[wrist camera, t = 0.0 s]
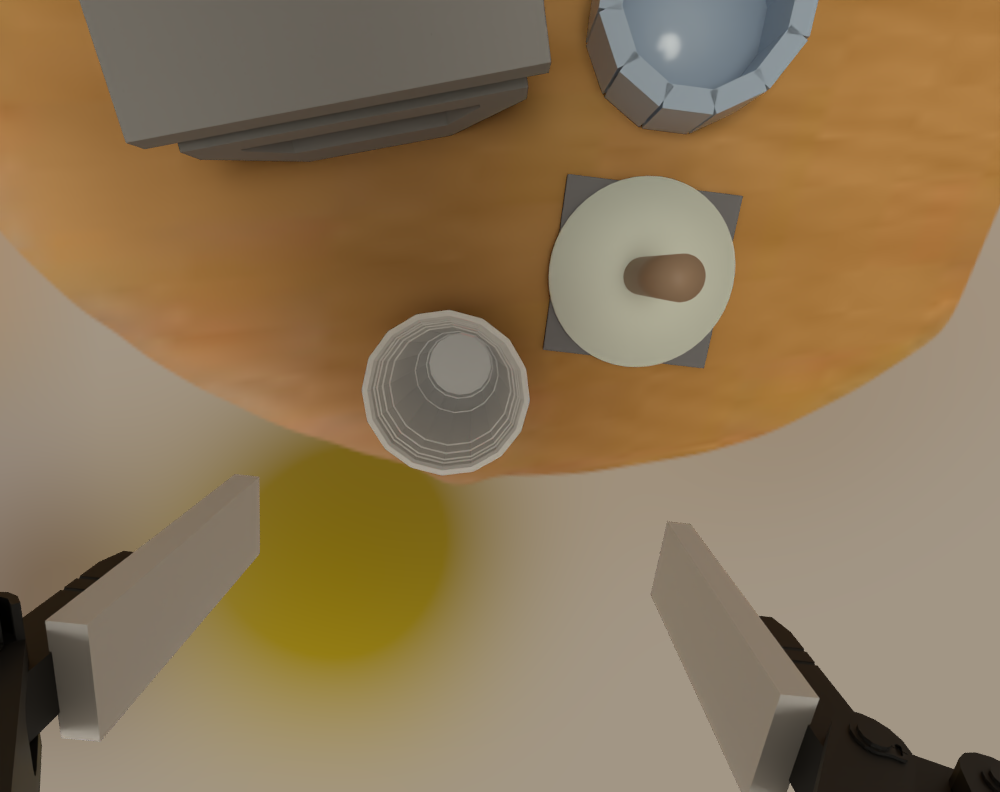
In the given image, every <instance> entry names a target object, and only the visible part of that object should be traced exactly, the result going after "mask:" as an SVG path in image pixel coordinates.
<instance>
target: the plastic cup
mask: <svg viewBox="0 0 1000 792" xmlns="http://www.w3.org/2000/svg"><path fill="white" fill-rule="evenodd" d="M362 394H363V400H364V405H365V411H366V416H367V422H368V423H369V425H370V426H371V428H372V429H373V431H374V433H375V434H376V436H377V437H378V439H379V440H380V442H381V443H382V445H383V447H384V448H385V449H386V450H387V451H389V452H390V453H392V454H393V455H394V456H396V457H397V458H398V459H400V460H401V461H403V462H404V463H405V464H407V465H408V466H410V467H411V468H415V469H419V470H423V471H427V472H431V473H434V474H438V475H450V474H458V473H465V472H473V471H475V470H477V469H479V468H481V467H483V466H484V465H486V464H488V463H490V462H492V461H493V460H495V459H497V458H499V457H501V456H502V455H503V453H504V452H505V451H506V450H507V448H508V447H509V446H510V445H511V443H512V442H513V441H514V440H515V438H516V437H517V436H518V435H519V433H520V432H521V430H522V426H523V423H524V419H525V416H526V412H527V409H528V405H529V402H530V398H529V390H528V381H527V373H526V368H525V366H524V364H523V362H522V361H521V359H520V357H519V355H518V354H517V352H516V350H515V348H514V347H513V345H512V343H511V341H510V340H509V339H508V338H507V337H506V336H504V335H503V334H502V333H500V332H499V331H498V330H497V329H495V328H494V327H493V326H491V325H490V324H489V323H488V322H486V321H485V320H484V319H482V318H478V317H474V316H471V315H467V314H463V313H460V312H456V311H452V310H445V311H438V312H430V313H423V314H416V315H415V316H413V317H411V318H410V319H408V320H406V321H405V322H403V323H401V324H399V325H398V326H396V327H394V328H393V329H391V330H389V331H388V332H387V333H386V335H385V336H384V338H383V339H382V340H381V342H380V343H379V344H378V346H377V347H376V349H375V350H374V351H373V353H372V354H371V355H370V357H369V359H368V363H367V368H366V372H365V377H364V381H363V386H362Z"/></svg>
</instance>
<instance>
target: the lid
mask: <svg viewBox="0 0 1000 792" xmlns="http://www.w3.org/2000/svg"><path fill="white" fill-rule="evenodd" d="M734 276H735V253H734V247H733V242H732V238H731V235H730V232H729V230H728V227H727V225H726V223H725V221H724V219H723V217H722V216H721V214H720V213H719V211H718V210H717V209H716V207H715V206H714V205H713V204H712V203H711V202H710V201H709V200H708V199H707V198H706V197H705V196H704V195H703V194H701V193H700V192H699V191H697V190H696V189H694V188H692V187H690V186H689V185H687V184H685V183H682V182H680V181H677V180H674V179H670V178H665V177H660V176H640V177H632V178H628V179H624V180H620V181H618V182H615V183H612V184H610V185H608V186H606V187H604V188H602V189H601V190H599V191H597V192H596V193H594V194H593V195H592V196H590V197H589V198H587V199H586V200H585V201H584V202H583V203H582V204H581V205H580V206H579V207H578V208H577V209H576V210H575V211H574V212H573V213H572V214H571V216H570V217H569V218H568V220H567V221H566V223H565V224H564V226H563V227H562V229H561V231H560V233H559V235H558V237H557V239H556V241H555V244H554V247H553V250H552V254H551V259H550V264H549V275H548V281H549V292H550V298H551V302H552V305H553V308H554V311H555V314H556V316H557V318H558V320H559V322H560V324H561V325H562V327H563V328H564V330H565V331H566V333H567V334H568V335H569V336H570V337H571V339H572V340H573V341H574V342H575V343H576V344H577V345H579V346H580V347H581V348H582V349H583V350H585V351H586V352H588V353H589V354H591V355H592V356H594V357H596V358H598V359H600V360H602V361H605V362H608V363H611V364H615V365H620V366H626V367H643V366H651V365H656V364H661V363H663V362H666V361H669V360H672V359H674V358H676V357H678V356H680V355H682V354H684V353H685V352H687V351H688V350H690V349H692V348H693V347H694V346H695V345H697V344H698V343H699V342H700V341H701V340H702V339H703V338H704V337H705V336H706V335H707V334H708V333H709V332H710V331H711V330H712V328H713V327H714V326H715V324H716V323H717V322H718V320H719V319H720V317H721V315H722V313H723V312H724V310H725V307H726V305H727V303H728V301H729V298H730V294H731V291H732V288H733V282H734Z"/></svg>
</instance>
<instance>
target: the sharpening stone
mask: <svg viewBox="0 0 1000 792" xmlns="http://www.w3.org/2000/svg"><path fill="white" fill-rule="evenodd" d="M79 1H80V4H81V7H82V10H83V13H84V16H85V19H86V22H87V25H88V28H89V31H90V34H91V38H92V41H93V44H94V47H95V50H96V53H97V56H98V59H99V62H100V65H101V68H102V71H103V74H104V77H105V80H106V83H107V86H108V90H109V93H110V96H111V99H112V102H113V105H114V108H115V111H116V114H117V117H118V120H119V123H120V126H121V129H122V132H123V135H124V138H125V142H126V143H128V144H131V145H134V146H137V147H140V148H143V149H148V148H153V147H158V146H163V145H169V144H174V143H178V146H179V149H180V152H181V153H183V154H186V155H189V156H192V157H194V158H197V159H200V160H250V161H306V162H310V161H315V160H321V159H326V158H331V157H337V156H342V155H348V154H353V153H358V152H364V151H369V150H375V149H380V148H385V147H391V146H396V145H402V144H407V143H413V142H418V141H423V140H429V139H434V138H440V137H445V136H450V135H453V134H455V133H457V132H459V131H461V130H463V129H465V128H468V127H470V126H472V125H474V124H476V123H478V122H480V121H482V120H484V119H486V118H488V117H490V116H492V115H494V114H496V113H498V112H500V111H502V110H504V109H506V108H508V107H510V106H512V105H515V104H517V103H519V102H521V101H523V100H525V99H527V92H528V81H527V77H529V76H534V75H539V74H544V73H549V69H550V65H551V57H550V49H549V40H548V32H547V24H546V16H545V8H544V0H79Z"/></svg>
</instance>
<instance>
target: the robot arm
mask: <svg viewBox="0 0 1000 792" xmlns="http://www.w3.org/2000/svg"><path fill="white" fill-rule="evenodd" d="M259 522H260V519H259V477H256V476H247V475H238V474H234V475H233V476H232V477H231V478H229V479H228V480H227V481H225V482H224V483H223V484H222V485H220V486H219V487H218V488H216V489H215V490H214V491H212V492H211V493H210V494H209V495H208V496H206V497H205V498H203V499H202V500H201V501H199V502H198V503H197V504H196V505H194V506H193V507H192V508H190V509H189V510H188V511H187V512H185V513H184V514H183V515H182V516H180V517H179V518H178V519H176V520H175V521H174V522H172V523H171V524H170V525H169V526H167V527H166V528H164V529H163V530H162V531H161V532H159V533H158V534H157V535H155V536H154V537H153V538H152V539H151V540H149V541H148V542H147V543H145V544H144V545H143V546H141V547H140V548H139V549H137V550H136V551H135V552H128V551H122V552H120V553H118V554H116V555H114V556H111V557H109V558H107V559H105V560H102V561H100V562H98V563H97V564H96V565H95V566H93V567H92V568H90V569H89V570H87V571H86V572H85V573H83V574H82V575H81V576H80V578H79V579H75V580H74V581H72V582H71V583H70V584H68V585H67V586H65V588H64V590H60V591H59V592H57V593H56V594H55V595H53V596H52V597H50V598H49V599H48V600H46V601H45V602H44V603H42V604H41V605H39V606H38V607H37V608H35V609H34V610H33V611H31V612H30V613H29V614H27V615H26V616H25V617H23V618H22V611H21V605H20V601H19V599H18V596H16V595H14V594H11V593H9V592H0V792H40V772H41V749H42V744H41V737H40V732H41V731H42V730H43V729H44V728H45V727H46V726H47V725H48V724H49V723H50V722H51V721H52V720H53V719H54V718H55V717H56V716H57V715H58V718H59V726H60V733H61V738H67V739H78V740H88V741H99V742H100V741H101V740H102V739H103V738H104V736H106V734H107V733H108V732H109V731H110V730H111V728H112V727H113V726H114V725H115V724H116V723H117V721H118V720H119V719H120V718H121V717H122V715H123V714H124V713H125V712H126V711H127V710H128V708H129V707H130V706H131V705H132V704H133V703H134V701H135V700H136V699H137V697H138V696H139V695H140V694H141V693H142V692H143V691H144V689H145V688H146V687H147V686H148V685H149V684H150V682H151V681H152V680H153V679H154V678H155V676H156V675H157V674H158V673H159V672H160V671H161V669H162V668H163V667H164V666H165V665H166V664H167V662H168V661H169V660H170V659H171V658H172V656H173V655H174V654H175V653H176V652H177V651H178V649H179V648H180V647H181V646H182V645H183V643H184V642H185V641H186V640H187V639H188V638H189V636H190V635H191V634H192V633H193V632H194V630H195V629H196V628H197V627H198V626H199V625H200V623H201V622H202V621H203V620H204V619H205V618H206V616H207V615H208V614H209V613H210V611H211V610H212V609H213V608H214V607H215V606H216V604H217V603H218V602H219V601H220V600H221V599H222V597H223V596H224V595H225V594H226V593H227V591H228V590H229V589H230V588H231V587H232V586H233V584H234V583H235V582H236V581H237V580H238V578H239V577H240V576H241V575H242V574H243V573H244V571H245V570H246V569H247V568H248V567H249V566H250V564H251V563H252V562H253V561H254V560H255V558H256V557H257V556H258V555H259V553H260V535H259V534H260V524H259ZM651 596H652V599H653V601H654V603H655V605H656V607H657V610H658V612H659V614H660V616H661V618H662V620H663V623H664V625H665V627H666V629H667V631H668V634H669V636H670V638H671V640H672V642H673V644H674V647H675V649H676V651H677V653H678V655H679V657H680V660H681V662H682V664H683V666H684V668H685V670H686V673H687V675H688V677H689V679H690V682H691V684H692V686H693V688H694V690H695V693H696V695H697V697H698V699H699V701H700V703H701V706H702V708H703V710H704V712H705V714H706V717H707V718H708V721H709V723H710V725H711V727H712V730H713V732H714V734H715V736H716V738H717V740H718V743H719V745H720V747H721V749H722V751H723V754H724V756H725V758H726V760H727V762H728V764H729V767H730V769H731V771H732V773H733V776H734V777H735V780H736V782H737V784H738V786H739V788H740V791H741V792H787V789H788V787H789V784H790V783H791V785H792V787H793V789H794V791H795V792H1000V761H998V760H996V759H994V758H992V757H989V756H986V755H982V754H978V753H964V754H963V755H962V756H961V757H960V758H959V760H958V762H957V764H956V766H955V768H954V769H952V768H949V767H946V766H943V765H940V764H937V763H935V762H932V761H929V760H926V759H923V758H920V757H917V756H915V755H912V753H911V752H910V750H909V749H908V748H907V746H906V745H905V744H904V742H903V741H902V740H901V739H900V738H899V737H898V736H896V735H895V734H894V733H893V732H892V731H891V730H890V729H888V728H887V727H885V726H884V725H882V724H880V723H879V722H877V721H876V720H874V719H872V718H870V717H867V716H865V715H863V714H860V713H857V712H854V711H853V710H852V709H851V707H850V706H849V705H848V704H847V702H846V701H845V700H844V699H843V698H842V696H841V695H840V694H839V692H838V691H837V690H836V689H835V687H834V686H833V685H832V684H831V682H830V681H829V680H828V678H827V677H826V676H825V675H824V673H823V672H822V671H821V670H820V668H819V667H818V666H816V665H815V664H814V661H813V660H812V658H811V657H810V656H809V655H808V653H807V652H804V648H803V647H802V646H801V645H800V643H799V642H798V641H797V640H796V638H795V637H794V636H793V635H792V633H791V632H790V631H789V630H787V629H786V628H785V627H783V626H782V625H781V624H780V623H778V622H777V621H776V620H775V619H773V618H772V617H764V616H758V614H757V613H756V612H755V610H754V609H753V608H752V606H751V605H750V604H749V602H748V601H747V600H746V598H745V597H744V596H743V594H742V593H741V592H740V590H739V589H738V588H737V586H736V585H735V583H734V582H733V581H732V579H731V578H730V577H729V575H728V574H727V573H726V571H725V570H724V569H723V567H722V566H721V565H720V563H719V562H718V560H717V559H716V558H715V556H714V555H713V554H712V552H711V551H710V550H709V548H708V547H707V546H706V544H705V543H704V542H703V540H702V539H701V538H700V536H699V535H698V533H697V532H696V531H695V529H694V528H693V527H692V525H691V524H686V523H677V522H667V525H666V529H665V534H664V538H663V543H662V547H661V551H660V556H659V560H658V565H657V569H656V573H655V578H654V582H653V586H652V591H651Z"/></svg>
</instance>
